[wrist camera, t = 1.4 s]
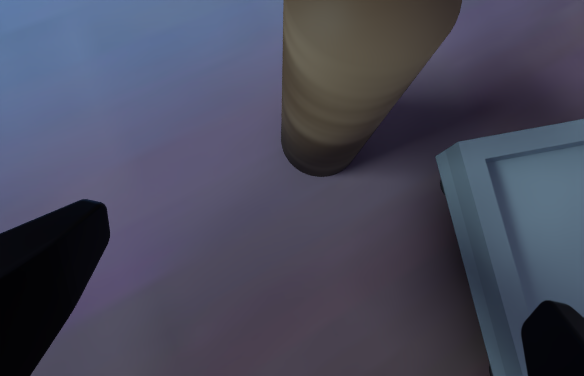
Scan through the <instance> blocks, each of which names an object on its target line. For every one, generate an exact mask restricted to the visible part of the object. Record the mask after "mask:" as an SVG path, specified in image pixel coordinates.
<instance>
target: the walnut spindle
mask: <svg viewBox="0 0 584 376" xmlns="http://www.w3.org/2000/svg"><path fill="white" fill-rule="evenodd" d="M461 3H462V0H284V9H283V67H282V124H281V143H282V148H283V151H284V154H285V156H286V157H287V159H288V160H289V162H290V163H291V164H292V165H293V166H294V167H295V168H297V169H298V170H299V171H301V172H303V173H305V174H308V175H311V176H317V177H324V176H330V175H334V174H336V173H338V172H340V171H342V170H343V169H345V168H346V167H347V166H348V165H349V164H350V163H351V161H352V160H353V159H354V157H355V156H356V155H357V154H358V152H359V151H360V150H361V148H362V147H363V146H364V144H365V143H366V142H367V140H368V139H369V138H370V137H371V135H372V134H373V133H374V131H375V130H376V129H377V127H378V126H379V125H380V123H381V122H382V121H383V119H384V118H385V117H386V116H387V114H388V113H389V112H390V110H391V109H392V108H393V106H394V105H395V104H396V102H397V101H398V100H399V99H400V97H401V96H402V95H403V93H404V92H405V91H406V89H407V88H408V87H409V85H410V84H411V83H412V81H413V80H414V79H415V78H416V76H417V75H418V74H419V72H420V71H421V70H422V68H423V67H424V66H425V64H426V63H427V62H428V60H429V59H430V58H431V57H432V55H433V54H434V53H435V51H436V50H437V49H438V47H439V46H440V45H441V43H442V42H443V41H444V40H445V38H446V37H447V36H448V34H449V33H450V32H451V30H452V28H453V26H454V25H455V23H456V21H457V18H458V15H459V13H460V8H461Z"/></svg>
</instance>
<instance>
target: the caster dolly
mask: <svg viewBox="0 0 584 376" xmlns="http://www.w3.org/2000/svg"><path fill="white" fill-rule="evenodd" d="M435 157H436V161H437V165H438V169H439V172H440V176H441V181H440V186H441V190H442V192H443V193H444V194H445V195H446V199H447V203H448V206H449V210H450V214H451V218H452V222H453V225H454V229H455V233H456V237H457V241H458V244H459V248H460V252H461V256H462V259H463V263H464V267H465V271H466V275H467V278H468V282H469V286H470V290H471V294H472V297H473V301H474V305H475V309H476V312H477V316H478V320H479V324H480V328H481V331H482V335H483V339H484V343H485V347H486V350H487V354H488V358H489V362H490V367H489V372H490V376H528V374H527V368H526V362H525V356H524V350H523V344H522V338H521V328H522V325H523V323H524V321H525V320H526V319H527V318H528V317H529V316H530V314H531V313H532V312H533V311H534V310H535V309H536V308H537V306H538V305H539V304H540V303H541V302H543V301H545V300H552V301H556V302H561V303H565V304H568V305H570V306H571V307H572V308H573V309H575V310H576V311H577V312H578V313H579V314H580V315H581V316H583V317H584V119H581V120H576V121H570V122H565V123H559V124H554V125H548V126H542V127H537V128H531V129H526V130H520V131H515V132H509V133H504V134H498V135H493V136H487V137H482V138H476V139H471V140H465V141H460V142H457V143H455V144H454V145H452V146H451V147H449V148H448V149H446V150H445V151H443V152H441V153H440V154H438V155H437V156H435Z"/></svg>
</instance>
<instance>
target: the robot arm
mask: <svg viewBox="0 0 584 376" xmlns="http://www.w3.org/2000/svg"><path fill="white" fill-rule="evenodd" d="M109 238H110V228H109V221H108V214H107V208H106V206H105V204H103V203H102V202H97V201H93V200H88V199H82V200H79V201H77V202H74V203H72V204H70V205H67V206H65V207H63V208H60V209H58V210H55V211H53V212H51V213H48V214H46V215H43V216H41V217H39V218H36V219H34V220H31V221H29V222H27V223H24V224H22V225H20V226H17V227H15V228H12V229H10V230H8V231H5V232H3V233H0V376H30V375H31V374H32V372H33V371H34V369H35V368H36V366H37V365H38V363H39V362H40V360H41V359H42V357H43V356H44V354H45V353H46V351H47V350H48V348H49V347H50V345H51V343H52V342H53V340H54V339H55V337H56V336H57V334H58V333H59V331H60V330H61V328H62V327H63V325H64V324H65V322H66V321H67V319H68V318H69V316H70V314H71V313H72V311H73V310H74V308H75V306H76V304H77V302H78V301H79V299H80V297H81V295H82V293H83V291H84V289H85V287H86V285H87V283H88V281H89V279H90V278H91V276H92V274H93V272H94V270H95V268H96V266H97V264H98V262H99V260H100V258H101V256H102V254H103V252H104V250H105V248H106V246H107V244H108V242H109ZM521 338H522V344H523V350H524V356H525V362H526V368H527V374H528V376H584V317H583V316H581V315H580V314H579V313H578V312H577V311H576V310H575V309H573V308H572V307H571V306H570V305H568V304H565V303H561V302H556V301H552V300H545V301H543V302H541V303H540V304H539V305H538V306H537V308H536V309H535V310H534V311H533V312H532V313H531V314H530V316H529V317H528V318H527V319H526V320H525V321H524V323H523V325H522V328H521Z"/></svg>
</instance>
